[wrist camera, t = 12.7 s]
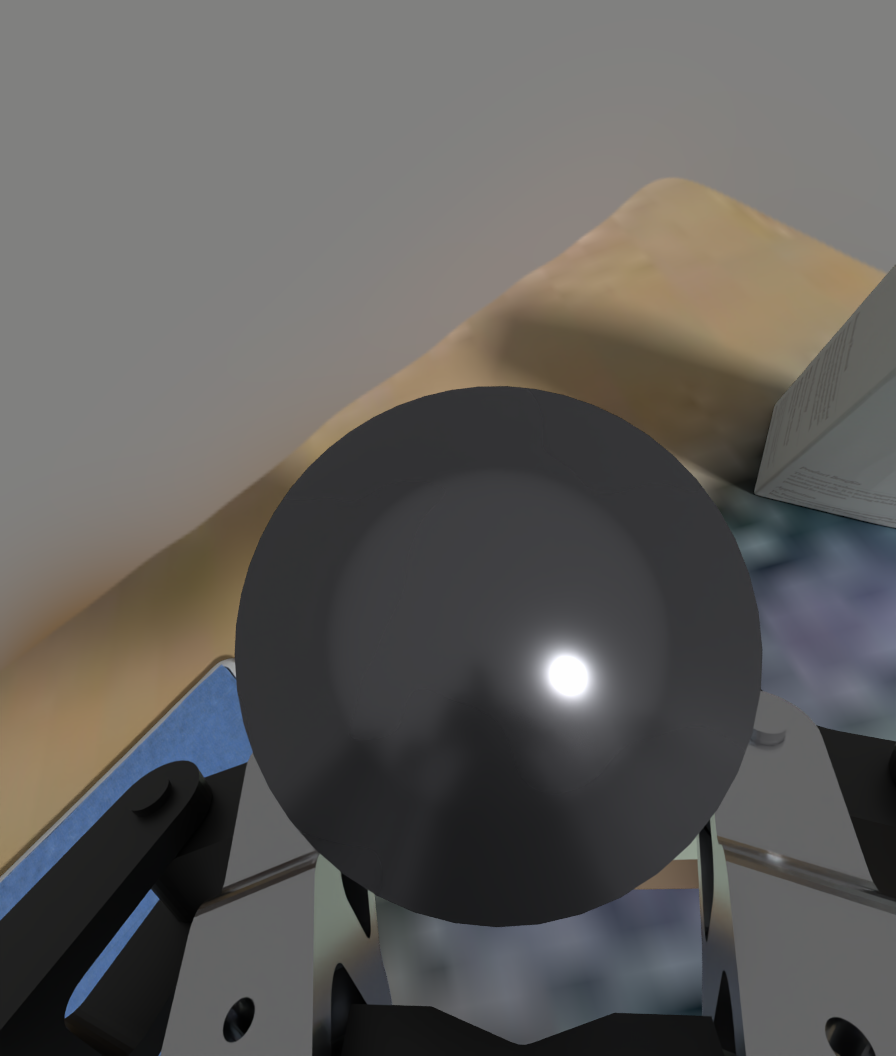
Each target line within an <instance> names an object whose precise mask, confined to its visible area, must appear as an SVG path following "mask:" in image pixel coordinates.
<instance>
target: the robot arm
mask: <svg viewBox="0 0 896 1056" xmlns="http://www.w3.org/2000/svg"><path fill="white" fill-rule="evenodd" d="M696 840H697V859H698V878H699V897H700V916H701V935H702V1016H688V1015H660V1014H631V1013H613V1014H610V1015H607V1016H605V1017H602V1018H599V1019H596V1020H594V1021H591V1022H588V1023H586V1024H583V1025H580V1026H578V1027H575V1028H572V1029H569V1030H567V1031H564V1032H561V1033H559V1034H556V1035H553V1036H550V1037H548V1038H545V1039H542V1040H540V1041H537V1042H534V1043H531V1044H527V1045H518V1044H515V1043H512V1042H510V1041H507V1040H505V1039H503V1038H501V1037H498V1036H496V1035H494V1034H492V1033H490V1032H487V1031H485V1030H483V1029H481V1028H478V1027H476V1026H474V1025H472V1024H469V1023H467V1022H465V1021H463V1020H460V1019H458V1018H456V1017H454V1016H452V1015H449V1014H447V1013H445V1012H443V1011H440V1010H438V1009H436V1008H434V1007H430V1006H401V1005H392V1001H391V995H390V989H389V985H388V980H387V976H386V972H385V969H384V965H383V961H382V956H381V951H380V944H379V936H378V926H377V915H376V905H375V895H374V893H372V892H371V891H369V890H367V889H366V888H364V887H363V886H361V885H360V884H358V883H357V882H355V881H353V880H352V879H350V878H349V877H347V876H346V875H344V874H343V873H342V872H340V871H339V870H338V869H337V868H336V867H335V866H334V865H332V864H331V863H330V862H329V861H328V860H327V859H326V858H324V857H323V856H322V855H321V854H320V853H319V852H318V851H316V850H315V849H314V848H313V847H312V845H311V844H310V843H309V842H308V841H307V840H306V838H305V837H304V836H303V835H302V834H301V833H300V831H299V830H298V829H297V828H296V827H295V826H294V825H293V823H292V822H291V821H290V820H289V818H288V817H287V815H286V814H285V812H284V811H283V809H282V808H281V806H280V804H279V803H278V801H277V800H276V798H275V797H274V795H273V794H272V792H271V790H270V789H269V787H268V785H267V783H266V781H265V778H264V776H263V774H262V772H261V770H260V768H259V766H258V764H257V761H256V759H255V757H254V755H253V753H252V754H251V756H250V758H249V760H248V762H246V763H244V764H241V765H238V766H235V767H232V768H230V769H227V770H224V771H221V772H218V773H216V774H213V775H210V776H207V777H203V775H202V773H201V772H200V770H199V769H198V767H197V766H196V765H195V764H194V763H193V762H190V761H185V760H181V761H174V762H170V763H167V764H165V765H162V766H160V767H158V768H156V769H154V770H153V771H151V772H149V773H148V774H146V775H145V776H143V777H142V778H140V779H139V780H138V781H137V782H136V783H134V784H133V785H132V786H131V787H130V788H129V789H128V790H127V791H126V792H125V793H124V794H123V795H122V796H121V797H120V798H119V799H118V800H117V801H116V802H115V803H114V804H113V805H112V806H111V807H110V808H109V809H108V810H107V811H106V812H105V813H104V814H103V815H102V816H101V817H100V818H99V820H98V821H97V822H96V823H95V824H94V825H93V826H92V827H91V828H90V829H89V830H88V831H87V832H86V833H85V834H84V835H83V836H82V837H81V838H80V839H79V840H78V841H77V842H76V843H75V844H74V845H73V846H72V847H71V848H70V849H69V850H68V851H67V852H66V853H65V854H64V855H63V857H62V858H61V859H60V860H59V861H58V862H57V863H56V864H55V865H54V866H53V867H52V868H51V869H50V870H49V871H48V872H47V873H46V874H45V875H44V876H43V877H42V878H41V879H40V880H39V881H38V882H37V883H36V884H35V885H34V886H33V887H32V888H31V889H30V890H29V891H28V892H27V894H26V895H25V896H24V897H23V898H22V899H21V900H20V901H19V902H18V903H17V904H16V905H15V906H14V907H13V908H12V909H11V910H10V911H9V912H8V913H7V914H6V915H5V916H4V917H3V918H2V919H1V920H0V1056H159V1054H160V1052H161V1055H160V1056H896V741H890V740H885V739H879V738H874V737H868V736H863V735H857V734H851V733H846V732H840V731H836V730H831V729H827V728H824V727H820V726H817V725H815V723H814V722H813V721H812V720H811V719H810V718H809V717H808V716H807V715H806V714H805V713H804V712H803V711H802V710H800V709H799V708H798V707H796V706H795V705H793V704H792V703H790V702H788V701H786V700H784V699H782V698H780V697H778V696H775V695H773V694H770V693H767V692H763V691H762V690H761V692H760V697H759V702H758V707H757V712H756V717H755V722H754V728H753V733H752V735H751V738H750V741H749V744H748V746H747V749H746V752H745V755H744V757H743V760H742V763H741V766H740V768H739V771H738V773H737V775H736V777H735V779H734V781H733V782H732V784H731V786H730V788H729V790H728V791H727V793H726V795H725V797H724V799H723V800H722V802H721V804H720V806H719V808H718V810H717V811H716V812H715V813H714V815H713V816H712V817H711V819H710V820H709V821H708V822H707V824H706V825H705V826H704V827H703V829H702V830H701V831H700V833H699V834H698V835H697V836H696ZM150 889H151V890H152V891H153V892H154V893H155V895H156V896H157V897H158V898H159V900H158V902H157V903H156V905H155V906H154V907H153V909H152V910H151V911H150V913H149V914H148V915H147V917H146V918H145V919H144V921H143V922H142V923H141V925H140V926H139V927H138V929H137V930H136V932H135V933H134V934H133V936H132V937H131V938H130V940H129V941H128V942H127V944H126V945H125V946H124V948H123V949H122V950H121V952H120V953H119V955H118V956H117V957H116V959H115V960H114V961H113V963H112V964H111V965H110V967H109V968H108V969H107V971H106V972H105V973H104V975H103V976H102V977H101V979H100V980H99V982H98V983H97V984H96V986H95V987H94V988H93V990H92V991H91V992H90V994H89V995H88V996H87V998H86V999H85V1000H84V1001H83V1003H82V1004H81V1005H80V1006H79V1007H78V1008H77V1009H76V1010H75V1011H74V1012H73V1013H72V1014H70V1015H69V1016H68V1017H66V1018H65V1011H66V1008H67V1005H68V1002H69V1000H70V997H71V996H72V994H73V992H74V990H75V988H76V987H77V985H78V983H79V982H80V981H81V979H82V978H83V976H84V975H85V974H86V972H87V971H88V970H89V969H90V967H91V966H92V965H93V963H94V962H95V961H96V959H97V958H98V957H99V956H100V954H101V953H102V952H103V950H104V949H105V948H106V946H107V945H108V944H109V943H110V941H111V940H112V939H113V937H114V936H115V935H116V933H117V932H118V931H119V930H120V928H121V927H122V926H123V924H124V923H125V922H126V920H127V919H128V918H129V917H130V915H131V914H132V913H133V911H134V910H135V909H136V907H137V906H138V905H139V904H140V902H141V901H142V900H143V898H144V897H145V896H146V894H147V893H148V892H149V890H150ZM161 1050H162V1051H161Z"/></svg>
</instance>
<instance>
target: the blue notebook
mask: <svg viewBox="0 0 896 1056" xmlns="http://www.w3.org/2000/svg"><path fill="white" fill-rule="evenodd" d="M252 753H253V751H252V748H251V745H250V742H249V739H248V736H247V733H246V730H245V727H244V724H243V719H242V714H241V708H240V703H239V698H238V693H237V684H236V669H235V658H229V659H226V660H223V661H221V662H219V663H217V664H216V665H215V666H214V667H213V668H212V669H211V670H210V671H209V672H208V673H207V674H206V675H205V676H204V677H203V678H202V679H201V680H200V681H199V682H198V683H197V684H196V685H195V686H194V687H193V688H192V689H190V691H189V692H188V693H187V694H186V695H185V696H184V697H183V698H182V699H181V700H180V701H178V702H177V703H176V704H175V705H174V706H173V707H172V708H171V709H170V710H169V711H168V712H167V713H166V714H165V715H164V716H163V717H162V718H161V719H160V720H159V721H158V722H157V723H156V724H155V725H154V726H153V727H152V728H151V729H150V730H149V731H148V732H147V733H146V734H145V735H144V736H143V737H142V738H141V739H140V740H139V741H138V742H137V743H136V744H135V745H134V746H133V747H132V748H131V749H130V750H129V751H128V752H127V753H126V754H125V755H124V756H123V757H122V758H121V759H120V760H119V761H118V762H117V763H116V764H115V765H114V766H113V767H112V768H111V769H110V770H109V771H108V772H107V773H106V774H105V775H104V776H103V777H102V778H101V779H100V780H99V781H98V782H97V783H96V784H95V785H94V786H93V787H92V788H91V789H90V790H88V791H87V792H86V793H85V794H84V795H83V796H82V797H81V798H80V799H79V800H78V801H77V802H76V803H75V804H74V805H73V806H72V807H71V808H70V809H69V810H68V811H67V812H66V813H65V814H64V815H63V816H62V817H61V818H60V819H59V820H58V821H57V822H56V823H55V824H54V825H53V826H52V827H51V828H50V829H49V830H48V831H47V832H46V833H45V834H44V835H43V836H42V837H41V838H39V839H38V840H37V841H36V842H35V843H34V844H33V845H32V846H31V847H30V848H29V849H28V850H27V851H26V852H25V853H24V854H23V855H22V856H21V857H20V858H19V859H18V860H17V861H16V862H15V863H14V864H13V865H12V866H11V867H10V868H9V869H8V870H7V871H6V872H5V873H4V874H3V875H2V876H1V877H0V920H1V919H2V918H3V917H4V916H5V915H6V914H7V913H8V912H9V911H10V910H11V909H12V908H13V907H14V906H15V905H16V904H17V903H18V902H19V901H20V900H21V899H22V898H23V897H24V896H25V895H26V894H27V892H28V891H29V890H30V889H31V888H32V887H33V886H34V885H35V884H36V883H37V882H38V881H39V880H40V879H41V878H42V877H43V876H44V875H45V874H46V873H47V872H48V871H49V870H50V869H51V868H52V867H53V866H54V865H55V864H56V863H57V862H58V861H59V860H60V859H61V858H62V857H63V855H64V854H65V853H66V852H67V851H68V850H69V849H70V848H71V847H72V846H73V845H74V844H75V843H76V842H77V841H78V840H79V839H80V838H81V837H82V836H83V835H84V834H85V833H86V832H87V831H88V830H89V829H90V828H91V827H92V826H93V825H94V824H95V823H96V822H97V821H98V820H99V818H100V817H101V816H102V815H103V814H104V813H105V812H106V811H107V810H108V809H109V808H110V807H111V806H112V805H113V804H114V803H115V802H116V801H117V800H118V799H119V798H120V797H121V796H122V795H123V794H124V793H125V792H126V791H127V790H128V789H129V788H130V787H131V786H132V785H133V784H134V783H136V782H137V781H138V780H139V779H140V778H142V777H143V776H145V775H146V774H148V773H149V772H151V771H153V770H154V769H156V768H158V767H160V766H162V765H165V764H167V763H170V762H174V761H181V760H185V761H190V762H193V763H194V764H195V765H196V766H197V767H198V769H199V770H200V772H201V773H202V775H203V777H207V776H210V775H213V774H216V773H218V772H221V771H224V770H227V769H230V768H232V767H235V766H238V765H241V764H244V763H246V762H248V760H249V758H250V756H251V754H252ZM158 900H159V898H158V897H157V896H156V895H155V893H154V892H153V891H152V890H151V889H150V890H149V892H148V893H147V894H146V896H145V897H144V898H143V900H142V901H141V902H140V904H139V905H138V906H137V907H136V909H135V910H134V911H133V913H132V914H131V915H130V917H129V918H128V919H127V920H126V922H125V923H124V924H123V926H122V927H121V928H120V930H119V931H118V932H117V933H116V935H115V936H114V937H113V939H112V940H111V941H110V943H109V944H108V945H107V946H106V948H105V949H104V950H103V952H102V953H101V954H100V956H99V957H98V958H97V959H96V961H95V962H94V963H93V965H92V966H91V967H90V969H89V970H88V971H87V972H86V974H85V975H84V976H83V978H82V979H81V981H80V982H79V983H78V985H77V987H76V988H75V990H74V992H73V994H72V996H71V997H70V1000H69V1002H68V1005H67V1008H66V1011H65V1018H66V1017H68V1016H69V1015H70V1014H72V1013H73V1012H74V1011H75V1010H76V1009H77V1008H78V1007H79V1006H80V1005H81V1004H82V1003H83V1001H84V1000H85V999H86V998H87V996H88V995H89V994H90V992H91V991H92V990H93V988H94V987H95V986H96V984H97V983H98V982H99V980H100V979H101V977H102V976H103V975H104V973H105V972H106V971H107V969H108V968H109V967H110V965H111V964H112V963H113V961H114V960H115V959H116V957H117V956H118V955H119V953H120V952H121V950H122V949H123V948H124V946H125V945H126V944H127V942H128V941H129V940H130V938H131V937H132V936H133V934H134V933H135V932H136V930H137V929H138V927H139V926H140V925H141V923H142V922H143V921H144V919H145V918H146V917H147V915H148V914H149V913H150V911H151V910H152V909H153V907H154V906H155V905H156V903H157V902H158ZM161 1051H162V1050H161ZM160 1055H161V1052H160V1054H159V1056H160Z"/></svg>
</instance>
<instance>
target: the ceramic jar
mask: <svg viewBox="0 0 896 1056" xmlns="http://www.w3.org/2000/svg"><path fill="white" fill-rule="evenodd" d="M235 669H236V684H237V693H238V698H239V703H240V708H241V714H242V719H243V724H244V727H245V730H246V733H247V736H248V739H249V742H250V745H251V748H252V751H253V755H254V757H255V759H256V761H257V764H258V766H259V768H260V770H261V772H262V774H263V776H264V778H265V781H266V783H267V785H268V787H269V789H270V790H271V792H272V794H273V795H274V797H275V798H276V800H277V801H278V803H279V804H280V806H281V808H282V809H283V811H284V812H285V814H286V815H287V817H288V818H289V820H290V821H291V822H292V823H293V825H294V826H295V827H296V828H297V829H298V830H299V831H300V833H301V834H302V835H303V836H304V837H305V838H306V840H307V841H308V842H309V843H310V844H311V845H312V847H313V848H314V849H315V850H316V851H318V852H319V853H320V854H321V855H322V856H323V857H324V858H326V859H327V860H328V861H329V862H330V863H331V864H332V865H334V866H335V867H336V868H337V869H338V870H339V871H340V872H342V873H343V874H344V875H346V876H347V877H349V878H350V879H352V880H353V881H355V882H357V883H358V884H360V885H361V886H363V887H364V888H366V889H367V890H369V891H371V892H372V893H374V894H375V895H377V896H379V897H381V898H383V899H386V900H388V901H390V902H392V903H395V904H397V905H399V906H401V907H404V908H406V909H408V910H410V911H413V912H415V913H419V914H423V915H427V916H430V917H434V918H438V919H442V920H445V921H449V922H453V923H460V924H470V925H480V926H490V927H505V926H520V925H535V924H542V923H546V922H551V921H555V920H559V919H563V918H567V917H572V916H576V915H580V914H583V913H585V912H588V911H590V910H592V909H595V908H597V907H599V906H602V905H604V904H606V903H609V902H611V901H613V900H616V899H618V898H621V897H622V896H624V895H625V894H627V893H629V892H630V891H632V890H633V889H635V888H636V887H638V886H639V885H641V884H643V883H644V882H646V881H647V880H649V879H650V878H652V877H653V876H655V875H657V874H658V873H659V872H660V871H661V870H662V869H664V868H665V867H666V866H667V865H668V864H669V863H670V862H671V861H672V860H673V859H675V858H676V857H677V856H678V855H679V854H680V853H681V852H682V851H683V850H684V849H686V848H687V847H688V846H689V845H690V844H691V843H692V841H693V840H694V839H695V838H696V836H697V835H698V834H699V833H700V831H701V830H702V829H703V827H704V826H705V825H706V824H707V822H708V821H709V820H710V819H711V817H712V816H713V815H714V813H715V812H716V811H717V810H718V808H719V806H720V804H721V802H722V800H723V799H724V797H725V795H726V793H727V791H728V790H729V788H730V786H731V784H732V782H733V781H734V779H735V777H736V775H737V773H738V771H739V768H740V766H741V763H742V760H743V757H744V755H745V752H746V749H747V746H748V744H749V741H750V738H751V735H752V733H753V728H754V722H755V717H756V712H757V707H758V702H759V697H760V692H761V670H762V642H761V632H760V622H759V613H758V608H757V604H756V600H755V596H754V592H753V587H752V583H751V579H750V575H749V572H748V570H747V567H746V565H745V562H744V560H743V557H742V555H741V552H740V550H739V547H738V545H737V542H736V540H735V538H734V536H733V534H732V532H731V531H730V529H729V527H728V525H727V523H726V522H725V520H724V518H723V516H722V515H721V513H720V511H719V509H718V508H717V506H716V505H715V503H714V502H713V501H712V499H711V498H710V497H709V495H708V494H707V493H706V491H705V490H704V489H703V487H702V486H701V485H700V483H699V482H698V481H697V479H696V478H695V477H694V476H693V475H692V474H691V473H690V472H689V471H688V470H687V469H686V468H685V467H684V466H683V465H682V464H681V463H680V462H679V461H678V460H677V459H676V458H675V457H674V456H673V455H672V454H671V453H670V452H668V451H667V450H666V449H665V448H663V447H662V446H661V445H660V444H659V443H657V442H656V441H655V440H654V439H652V438H651V437H650V436H649V435H647V434H646V433H644V432H642V431H641V430H639V429H638V428H636V427H634V426H633V425H631V424H630V423H628V422H626V421H625V420H623V419H622V418H620V417H618V416H616V415H613V414H611V413H609V412H607V411H605V410H603V409H601V408H599V407H596V406H594V405H592V404H589V403H586V402H583V401H580V400H577V399H574V398H571V397H568V396H565V395H561V394H556V393H551V392H547V391H542V390H537V389H529V388H519V387H508V386H497V387H473V388H464V389H456V390H450V391H445V392H441V393H437V394H433V395H428V396H424V397H421V398H418V399H416V400H413V401H410V402H407V403H404V404H401V405H398V406H396V407H394V408H392V409H390V410H388V411H386V412H384V413H382V414H379V415H377V416H375V417H373V418H372V419H370V420H368V421H367V422H365V423H363V424H362V425H360V426H359V427H357V428H355V429H354V430H352V431H350V432H349V433H348V434H346V435H345V436H344V437H343V438H341V439H340V440H339V441H337V442H336V443H335V444H333V445H332V446H331V447H330V448H328V449H327V450H326V451H325V452H324V453H323V454H322V455H321V456H320V457H319V458H318V459H317V460H316V461H315V462H314V463H313V464H311V465H310V466H309V467H308V468H307V470H306V471H305V472H304V473H303V474H302V476H301V477H300V478H299V479H298V480H297V481H296V483H295V484H294V485H293V486H292V487H291V488H290V490H289V491H288V493H287V494H286V496H285V497H284V499H283V500H282V502H281V503H280V504H279V506H278V507H277V509H276V510H275V512H274V514H273V515H272V517H271V519H270V521H269V523H268V525H267V527H266V528H265V530H264V532H263V534H262V536H261V538H260V540H259V543H258V545H257V548H256V550H255V553H254V555H253V558H252V560H251V563H250V565H249V568H248V572H247V576H246V579H245V583H244V586H243V590H242V593H241V599H240V605H239V611H238V617H237V623H236V640H235Z"/></svg>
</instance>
